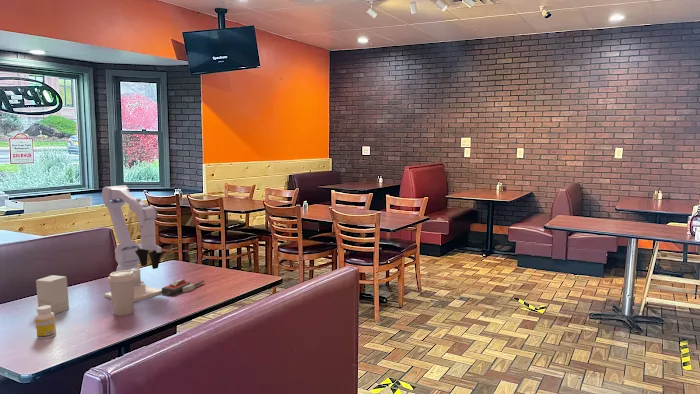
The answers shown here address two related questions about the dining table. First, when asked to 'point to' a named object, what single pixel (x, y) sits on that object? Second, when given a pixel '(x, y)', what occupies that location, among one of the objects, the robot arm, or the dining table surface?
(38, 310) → the supplement bottle
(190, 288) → the walkie-talkie
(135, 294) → the jack stand base
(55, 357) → the dining table surface
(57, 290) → the supplement box
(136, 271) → the column
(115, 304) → the coffee cup
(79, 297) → the dining table surface
